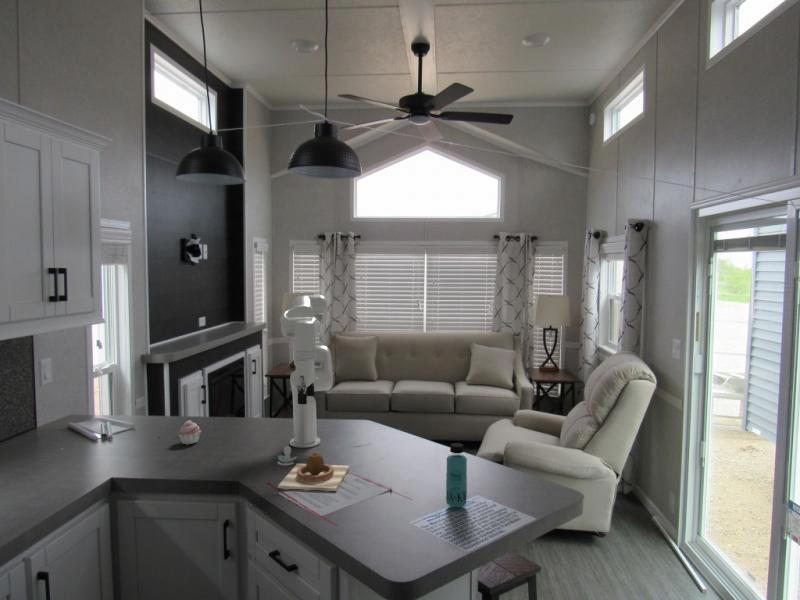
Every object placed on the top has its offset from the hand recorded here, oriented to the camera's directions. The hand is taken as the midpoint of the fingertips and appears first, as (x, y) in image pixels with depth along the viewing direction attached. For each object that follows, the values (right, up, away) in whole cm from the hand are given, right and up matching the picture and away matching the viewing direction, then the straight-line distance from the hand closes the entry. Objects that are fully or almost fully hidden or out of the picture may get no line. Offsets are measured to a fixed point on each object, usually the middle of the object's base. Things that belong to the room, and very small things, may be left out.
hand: (306, 399), depth 198 cm
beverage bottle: (+52, -28, -32) cm, 67 cm away
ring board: (+5, -26, -8) cm, 28 cm away
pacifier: (-9, -26, +7) cm, 28 cm away
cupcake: (-55, -24, +31) cm, 67 cm away
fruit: (+5, -25, -8) cm, 27 cm away
